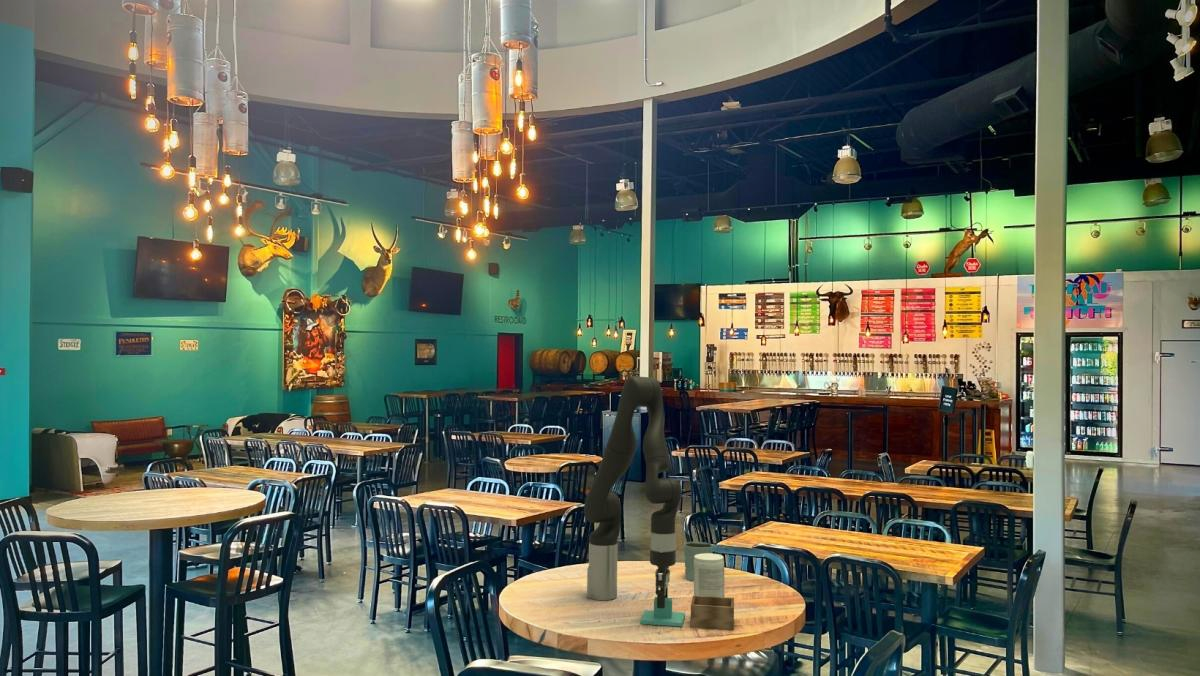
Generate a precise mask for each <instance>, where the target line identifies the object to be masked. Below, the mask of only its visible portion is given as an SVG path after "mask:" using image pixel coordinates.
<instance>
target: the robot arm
mask: <svg viewBox="0 0 1200 676" xmlns="http://www.w3.org/2000/svg"><path fill="white" fill-rule="evenodd" d="M620 392H621V393H620V397H619V402H618V405H617V411H616V414H615V419H614V421H613V425H612V428H611V430H610V431H611V432H610V435H609V437H608V439H607V443H606V445H605V448H604V453H603V456H602V459H601V461H600V465H599V468H598V470H597V473H596V476H595V478H594V480H593V482H592V485H591V486H590V489H589V491H588V493H587V496H586V499H585V501H584V505H583V514H584V517H585V519H586V521H587V522H589V523H592V524H599V525H598V526H597V527H596V529H594V530H593V531H592V532H590V533H589V536H588V567H587V572H586V573H587V576H586V577H587V578H586V581H587V582H586V585H587V586H586V598H587V599H591V600H597V601H611V600H614V599H616V598H617V597H618V543H619V542H618V540H619V537H620V534H621V519H622V505H621V503H622V502H621V500H620V497H619V496H618V495H617V493H615V492H611V490H612V488H613V487H614V485H615V484H616V483H617V482H618V481H619V480H620V479H621V478H622V476H623V475H624V474H625V473H626V472H627V470H628V469H629V468H630V466H631V464H632V462H633V458H634V457H635V454H636V450H637V445H638V444H637V438H636V434H635V431H634V427H633V419H634V414H635V411H636V408H637V407H640V408H646V409H647V414H648V425H647V428H646V430H645V434H644V436H643V441H642V452H643V457H644V463H645V470H646V471H645V485H644V487H645V488H644V493H645V494H644V495H645V498H646V499H647V501H648V502H649V503H651V504H654V505H655V504H664V505H663V507H662V508H660V509H659V510H655V511H654V512H652V514H651V517H650V537H649V563H650V565H652V566H656V567H657V568H656V569H655V572H654V575H655V582H654V584H655V595H656V597H657V608H662V609H663V608H665V598H669V595H668V593H669V589H668V588H669V586H670V584H669V583H670V578H671V577H670V575H671V570H670V567H672V566H674V565H676V562H677V561H676V559H677V558H676V557H677V555H676V554H677V546H676V545H677V544H676V543H677V539H676V517H677V512H678V508H679V505H680V501H681V499H682V486H681V483H680V481H678V480H677V479H676V478H670V477H669V478H659V474H660V473H664V472H666V471H668V470H669V469H670V466H671V465H670V463H671V462H670V459H669V458H670V457H669V454H668V448H667V444H666V438H665V428H664V427H665V426H664V425H665V424H664V423H665V422H664V406H663V405H664V403H663V390H662V387H661V383H660V381H659V380H658V379H656V378H655V377H650V376H649V377H647V376H638V375H637V376H635V375H634V376H633V375H632V376H629V377H628V378H626V380H625V381H624V383H623V387H622V388H621V391H620Z"/></svg>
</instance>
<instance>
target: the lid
mask: <svg viewBox="0 0 1200 676" xmlns="http://www.w3.org/2000/svg"><path fill="white" fill-rule="evenodd" d="M685 617H686V612H685V611H684V612H681V611H679V612H678V611H673V598H672V597H668V598H665V608H663V609H662V608H657V596H655V597H654V599H653V610H650V609H644V611H643V613H642V615H641V617H640V620H639V624H640V625H650V626H651V625H654V626H668V627H681V628H682V627H683V624H684V621H685Z"/></svg>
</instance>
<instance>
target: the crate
mask: <svg viewBox="0 0 1200 676" xmlns="http://www.w3.org/2000/svg"><path fill="white" fill-rule="evenodd" d="M691 597H692V598H691V603H690V628H692V629H693V628H694V629H695V628H696V629H709V630H721V631H723V630H725V631H727V630H728V631H734V625H735V624H734V623H735V598H734V597H726V596H724V597H711V596H695V595H694V594H693V595H692V596H691Z"/></svg>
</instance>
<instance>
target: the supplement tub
mask: <svg viewBox="0 0 1200 676" xmlns="http://www.w3.org/2000/svg"><path fill="white" fill-rule="evenodd" d="M693 595H695V596H711V597H726V596H725V558H724V556H723V555H722V554H717V553H712V554H711V553H704V554H697V555H695V556H694V582H693Z"/></svg>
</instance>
